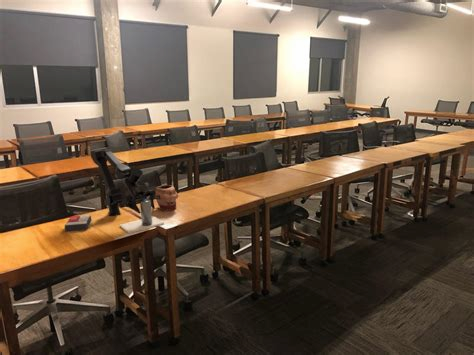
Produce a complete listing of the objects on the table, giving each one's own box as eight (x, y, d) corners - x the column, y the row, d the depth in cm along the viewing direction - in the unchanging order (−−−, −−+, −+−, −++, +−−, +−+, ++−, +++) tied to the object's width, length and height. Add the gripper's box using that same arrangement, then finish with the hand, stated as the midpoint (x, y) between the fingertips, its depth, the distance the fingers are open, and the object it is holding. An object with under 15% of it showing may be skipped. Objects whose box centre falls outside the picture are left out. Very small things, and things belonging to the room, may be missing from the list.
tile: (128, 233, 195) (128, 231, 195) (119, 226, 204) (119, 224, 204) (164, 224, 207) (163, 222, 207) (154, 217, 216) (154, 216, 216)
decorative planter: (147, 207, 234) (145, 185, 230) (163, 202, 243) (161, 181, 240) (169, 214, 222) (167, 191, 218) (184, 208, 231) (183, 186, 227)
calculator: (91, 214, 214) (86, 222, 200) (91, 221, 215) (87, 230, 201) (70, 215, 212) (64, 224, 197) (71, 223, 213) (65, 232, 198)
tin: (140, 225, 202) (138, 202, 199) (143, 222, 207) (142, 199, 204) (150, 226, 201) (148, 202, 198) (153, 222, 207) (151, 199, 203)
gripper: (123, 182, 194) (138, 207, 190) (152, 175, 208) (167, 198, 204) (116, 194, 201) (130, 218, 197) (144, 186, 215) (158, 209, 211)
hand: (147, 210), depth 202 cm, fingers open, 9 cm apart
